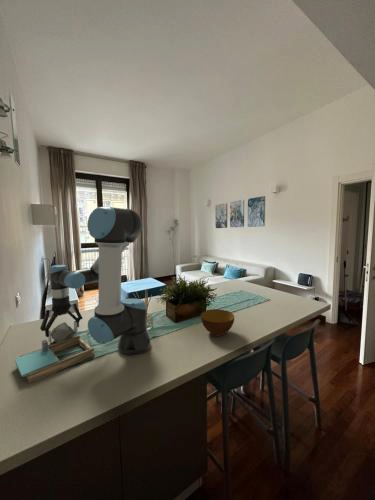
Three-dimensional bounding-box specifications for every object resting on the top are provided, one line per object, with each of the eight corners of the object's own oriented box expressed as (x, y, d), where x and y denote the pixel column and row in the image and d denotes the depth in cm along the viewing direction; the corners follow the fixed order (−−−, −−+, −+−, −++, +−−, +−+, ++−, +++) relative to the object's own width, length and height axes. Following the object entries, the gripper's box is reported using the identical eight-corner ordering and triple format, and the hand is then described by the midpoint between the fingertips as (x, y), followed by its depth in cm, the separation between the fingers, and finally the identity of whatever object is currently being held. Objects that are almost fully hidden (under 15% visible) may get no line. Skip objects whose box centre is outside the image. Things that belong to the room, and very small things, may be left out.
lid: (58, 362, 88) (57, 351, 88) (22, 377, 79) (20, 365, 79) (48, 348, 98) (47, 338, 98) (14, 360, 89) (13, 349, 89)
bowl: (237, 329, 121) (237, 312, 120) (229, 345, 105) (229, 325, 104) (207, 323, 129) (207, 307, 128) (195, 337, 113) (195, 318, 112)
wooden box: (94, 355, 98) (93, 348, 97) (29, 383, 80) (28, 374, 80) (79, 341, 109) (79, 335, 109) (20, 363, 92) (19, 356, 91)
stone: (63, 317, 114) (54, 325, 104) (79, 328, 115) (72, 337, 105) (51, 331, 114) (41, 341, 104) (67, 342, 115) (59, 353, 105)
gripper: (82, 289, 119) (84, 327, 122) (30, 300, 102) (33, 344, 105) (87, 292, 114) (90, 331, 117) (33, 304, 97) (37, 350, 100)
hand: (63, 337), depth 111 cm, fingers closed on stone, 11 cm apart
